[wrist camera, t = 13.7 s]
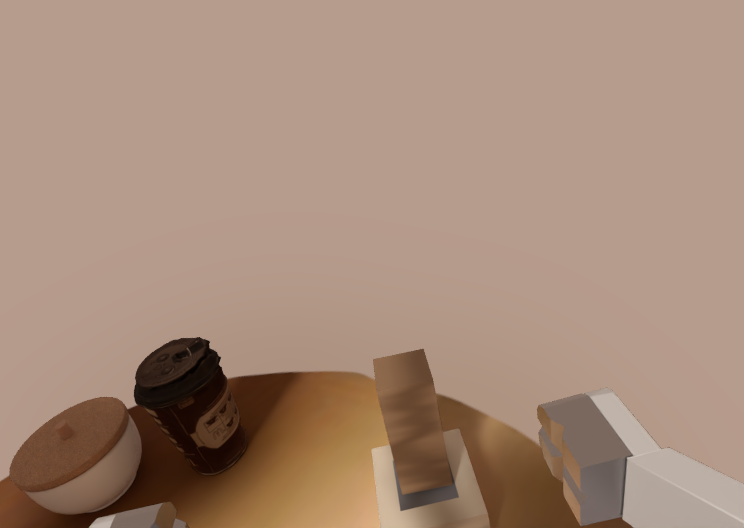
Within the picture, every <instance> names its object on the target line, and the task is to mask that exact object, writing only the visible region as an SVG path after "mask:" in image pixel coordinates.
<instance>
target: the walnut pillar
mask: <svg viewBox="0 0 744 528" xmlns="http://www.w3.org/2000/svg"><path fill="white" fill-rule="evenodd" d="M373 363H374V372H375V381H376V390H377V395H378V399H379V403H380V407H381V411H382V415H383V419H384V423H385V427H386V431H387V435H388V439H389V443H390V447H391V451H392V455H393V459H394V463H395V467H396V471H397V476H398V480H399V484H400V488H401V492H402V495H404V494H409V493H414V492H419V491H424V490H429V489H433V488H438V487H443V486H448V485H453V483H452V478H451V473H450V467H449V462H448V457H447V452H446V446H445V441H444V436H443V430H442V425H441V420H440V414H439V409H438V404H437V399H436V393H435V388H434V383H433V378H432V375H431V372H430V369H429V366H428V362H427V359H426V356H425V352H424V349H420V350H416V351H411V352H406V353H401V354H397V355H392V356H387V357H382V358H378V359H374V360H373Z"/></svg>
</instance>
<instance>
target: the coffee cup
mask: <svg viewBox="0 0 744 528" xmlns="http://www.w3.org/2000/svg"><path fill="white" fill-rule="evenodd" d="M209 343H210V342H209V341H208V340H205V339H202V338H200V337H197V338H181V339H178V340H173V341H170V342H169V343H166V344H165V345H163V346H162V347H160V348H158V349H157V350H155V351H154V352H152V353H151V354H150V355H149V356H147V357H146V358H145V359H144V361H143V362H142V363H141V364H140V365H139V367H138V369H137V372H136V377H135V379H136V385H135V389H134V398H135V402H136V404H137V405H139V406H142V407H144V408H145V410H146V411H147V412H148V413H149V414H150V415H151V416H152V417H153V419H154V420H155V422H156V423H157V424H158V425H159V426H160V428H161V429H162V431H163V432H164V433H165V434H166V435H167V436H168V438H169V440H170V441H171V442H172V443H173V444H174V445H175V446H176V448H177V449H178V451H179V452H181V453H182V454H184V456H185V458H186V460H187V461H188V463H189V464H190V465H191V466H192V468H193V469H194V470H195V471H197V472H199V473H200V474H203V475H215V474H218V473H220V472H222V471H224V470H225V469H227V468H229V467H230V466H232V465H233V464H234V463H235V462H236V461H237V460H238V459H239V458H240V456H241V455H242V453H243V452H244V450H245V449H246V446H247V434H246V431H245V429H244V428H243V427H242V426H241V425H240V415H239V410H238V407H237V406H236V403H235V400H234V398H233V395H232V392H231V389H230V386H229V384H228V382H227V378H226V376H225V375H224V374H223V371H222V367H220V366H219V362H220V359H221V357H219V356H218V354H217V352H216V351H214V350H212V349H210V348H209Z"/></svg>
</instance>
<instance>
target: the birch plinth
mask: <svg viewBox="0 0 744 528" xmlns="http://www.w3.org/2000/svg"><path fill="white" fill-rule="evenodd" d="M443 436H444V441H445V446H446V452H447V457H448V462H449V467H450V473H451V478H452V483H453V485H448V486H443V487H438V488H433V489H429V490H424V491H419V492H414V493H409V494H404V495H402V492H401V488H400V484H399V480H398V476H397V471H396V467H395V463H394V459H393V455H392V451H391V447H390V445H387V446H383V447H379V448H374V449H372V457H373V466H374V475H375V484H376V493H377V502H378V511H379V520H380V528H490V522H489V517H488V512H487V509H486V506H485V503H484V500H483V497H482V494H481V491H480V489H479V486H478V483H477V480H476V477H475V474H474V471H473V468H472V465H471V462H470V459H469V456H468V453H467V450H466V447H465V444H464V441H463V438H462V435H461V432H460V429H459V428H457V429H453V430H449V431H445V432H443Z"/></svg>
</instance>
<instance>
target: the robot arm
mask: <svg viewBox="0 0 744 528" xmlns="http://www.w3.org/2000/svg"><path fill="white" fill-rule="evenodd" d="M537 415H538V419H539V421H540V423H541V424H542V428H541V429H540V431H539V441H540V445H541V449H542V452H543V456H544V458H545V460H546V463H547V465H548V467H549V469H550V471H551V473H552V475H553V476H554V477H555V478H557V479H559V480H560V481H562V482H563V489H564V497H565V499H566V501H567V502H568V504H569V506H570V508H571V510H572V512H573V513H574V515H575V517H576V519H577V521H578V522H579V524H580V526H584V525H588V524H592V523H597V522H601V521H606V520H610V519H615V518H619V517H623V520H624V521H626V522H627V523H628V524H630V525H631V526H632V527H634V528H744V484H743V483H741V482H739V481H737V480H735V479H733V478H731V477H729V476H727V475H725V474H723V473H721V472H719V471H717V470H715V469H713V468H711V467H709V466H707V465H704V464H702V463H700V462H698V461H696V460H694V459H692V458H690V457H688V456H686V455H684V454H682V453H680V452H678V451H676V450H674V449H672V448H670V447H667V448H663V449H661V448H660V446H659V445H658V444H657V443H656V442H655V440H654V439H653V438H652V437H651V436H650V435H649V433H648V432H647V431H646V430H645V429H644V427H643V426H642V425H641V424H640V423H639V421H638V420H637V419H636V418H635V417H634V415H633V414H632V413H631V412H630V411H629V410H628V408H627V407H626V406H625V405H624V404H623V402H622V401H621V400H620V399H619V398H618V396H617V395H616V394H615V393H614V392H613V391H612V390H611V389H609V388H604V389H600V390H596V391H592V392H588V393H584V394H578V395H574V396H571V397H567V398H564V399H560V400H557V401H552V402H549V403H546V404H541V405H539V406H538V409H537ZM176 514H177V509H176V508H175V507H174V506H173V504H172V503H171V502H165V503H160V504H156V505H151V506H147V507H143V508H138V509H134V510H129V511H125V512H121V513H117V514H113V515H109V516H105V517H100V518H97V519H96V520H95V521H94V522H93V523H92V524H91V525H90V527H89V528H189V526H188V525H187V523H186V522H183V521H181V520H178V519H176V518H175V517H176Z"/></svg>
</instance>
